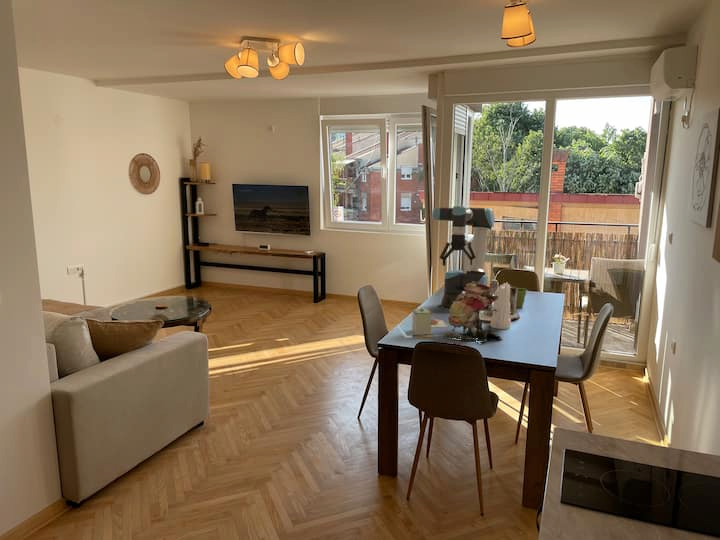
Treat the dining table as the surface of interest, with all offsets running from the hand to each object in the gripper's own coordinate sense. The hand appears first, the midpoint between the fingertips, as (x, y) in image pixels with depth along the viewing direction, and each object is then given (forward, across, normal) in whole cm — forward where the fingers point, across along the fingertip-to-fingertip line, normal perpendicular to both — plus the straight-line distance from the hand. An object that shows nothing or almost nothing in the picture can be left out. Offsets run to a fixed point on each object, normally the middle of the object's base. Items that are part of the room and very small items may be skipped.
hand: (457, 271), depth 298 cm
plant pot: (+31, +51, +32) cm, 68 cm away
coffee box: (+31, +40, +20) cm, 55 cm away
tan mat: (+30, -24, -19) cm, 43 cm away
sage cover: (+29, -24, -19) cm, 43 cm away
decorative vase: (+31, +24, -10) cm, 40 cm away
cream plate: (+30, -14, -4) cm, 33 cm away
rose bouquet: (+30, -1, -27) cm, 41 cm away
